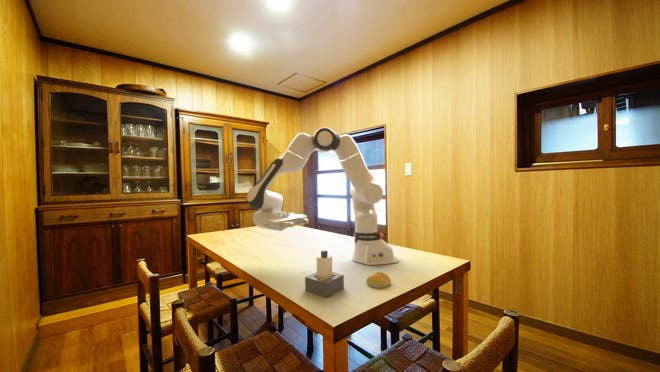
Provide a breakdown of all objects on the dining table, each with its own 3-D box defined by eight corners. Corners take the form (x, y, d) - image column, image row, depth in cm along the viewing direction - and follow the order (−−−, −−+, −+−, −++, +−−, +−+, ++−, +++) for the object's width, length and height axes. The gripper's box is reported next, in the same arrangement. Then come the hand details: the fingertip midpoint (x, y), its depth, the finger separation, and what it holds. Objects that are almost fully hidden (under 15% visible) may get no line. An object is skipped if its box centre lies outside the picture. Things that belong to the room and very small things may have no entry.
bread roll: (363, 284, 101) (362, 274, 101) (376, 278, 107) (376, 268, 107) (381, 291, 95) (381, 280, 95) (394, 283, 101) (394, 273, 101)
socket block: (323, 282, 104) (322, 268, 103) (343, 288, 97) (343, 274, 97) (305, 290, 96) (305, 276, 96) (326, 298, 90) (326, 282, 89)
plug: (324, 283, 99) (323, 249, 99) (332, 286, 97) (331, 251, 97) (317, 287, 96) (316, 251, 96) (325, 289, 94) (325, 253, 94)
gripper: (260, 217, 114) (281, 219, 105) (294, 211, 130) (315, 213, 121) (260, 231, 114) (282, 235, 105) (295, 224, 130) (316, 226, 121)
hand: (300, 223), depth 114 cm, fingers open, 8 cm apart
